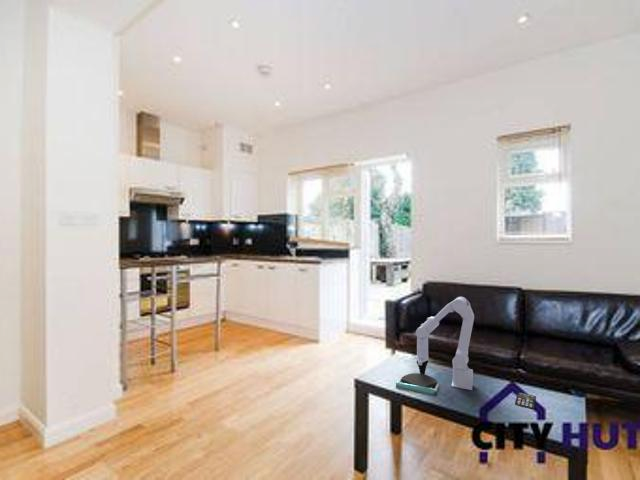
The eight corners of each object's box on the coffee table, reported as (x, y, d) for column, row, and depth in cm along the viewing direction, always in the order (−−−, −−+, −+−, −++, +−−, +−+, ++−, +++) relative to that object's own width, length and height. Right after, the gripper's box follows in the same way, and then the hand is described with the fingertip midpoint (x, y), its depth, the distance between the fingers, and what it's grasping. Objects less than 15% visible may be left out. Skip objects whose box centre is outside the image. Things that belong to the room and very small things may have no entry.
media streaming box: (398, 382, 178) (398, 376, 178) (418, 376, 186) (418, 370, 186) (420, 393, 165) (420, 387, 165) (440, 386, 173) (440, 380, 173)
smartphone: (536, 396, 162) (534, 408, 149) (536, 397, 162) (534, 410, 149) (517, 391, 166) (514, 404, 154) (517, 393, 166) (514, 405, 154)
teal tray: (438, 387, 172) (438, 382, 172) (435, 395, 163) (435, 390, 163) (400, 379, 180) (400, 375, 180) (395, 387, 171) (395, 382, 171)
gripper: (417, 344, 192) (417, 368, 192) (412, 351, 179) (412, 377, 179) (430, 345, 189) (430, 370, 189) (426, 354, 176) (426, 380, 176)
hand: (422, 374), depth 184 cm, fingers closed
